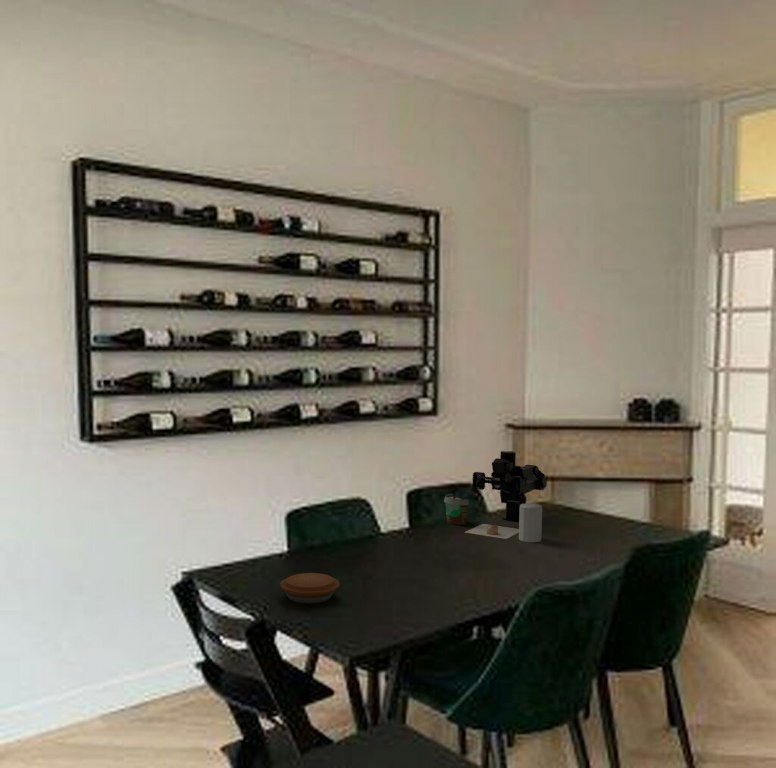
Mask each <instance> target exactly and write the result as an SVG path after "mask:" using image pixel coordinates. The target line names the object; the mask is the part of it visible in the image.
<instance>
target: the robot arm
mask: <svg viewBox="0 0 776 768" xmlns="http://www.w3.org/2000/svg"><path fill="white" fill-rule="evenodd" d="M499 453H500V456H499V457H500V458H495V459H494V460H493V461H492V462H491V467H492V468H491V469H492V472H491V473H490V474H491V475H490V476H486V473H485V472H482V471H474V472H473V473H472V487H471V488H473V490H477V491H478V490H479V491H483V490H484V489H485V488H486V484H490V485H491V490H496V491H500V492H499V496H500V503H501V504H505V516H504V517H502V520H504V519H505V521H511V522H519V514H520V505H521V504H527V496H526V494H528V493H530V492H532V491H534V490H535V491H544V490H545V489H546V487H547V483H548V482H547V478H546V474H545V473H543V472H542V470H540V469H539V467H538V466H537V465H535V464H524V466H521V465H517V462H516V457H517V455H516V453H517V452H516V451H513V450H512V451H511V450H508V451H507V450H505V451H504V450H500V452H499Z"/></svg>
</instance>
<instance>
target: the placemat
mask: <svg viewBox="0 0 776 768" xmlns="http://www.w3.org/2000/svg"><path fill="white" fill-rule="evenodd" d="M489 525H490V524H487V523H482V524H479V525H477V526H475V527H473V528H470V529H468V530H466V531H464V533H465V534H472V535H479V536H486V537H493V538H498V539H499V538H500V539H503V540H508V539H510V538H511V537H513V536H515V535H517V534H519V528H514V527H509V526H507V527H506V526H502V525H501V526H499V525H497V526H498V534H497V535H489V534H487V526H489ZM494 526H496V525H495V524H494Z"/></svg>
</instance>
